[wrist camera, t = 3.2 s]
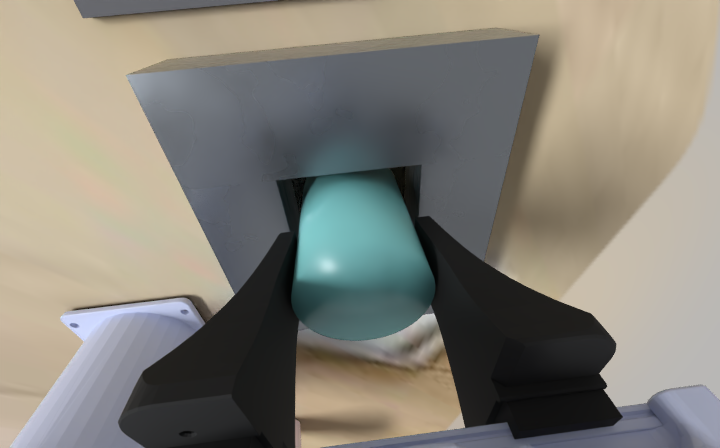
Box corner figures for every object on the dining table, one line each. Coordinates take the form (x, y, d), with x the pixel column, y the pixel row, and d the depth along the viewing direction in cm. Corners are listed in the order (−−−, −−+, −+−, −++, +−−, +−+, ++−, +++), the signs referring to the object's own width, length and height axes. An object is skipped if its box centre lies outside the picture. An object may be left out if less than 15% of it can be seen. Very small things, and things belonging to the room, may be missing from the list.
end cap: (397, 226, 18) (430, 332, 12) (312, 236, 17) (305, 347, 12) (397, 145, 15) (441, 235, 9) (294, 156, 14) (274, 255, 9)
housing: (455, 272, 20) (472, 308, 18) (263, 295, 20) (255, 335, 18) (496, 28, 12) (539, 34, 10) (166, 59, 12) (126, 75, 9)
